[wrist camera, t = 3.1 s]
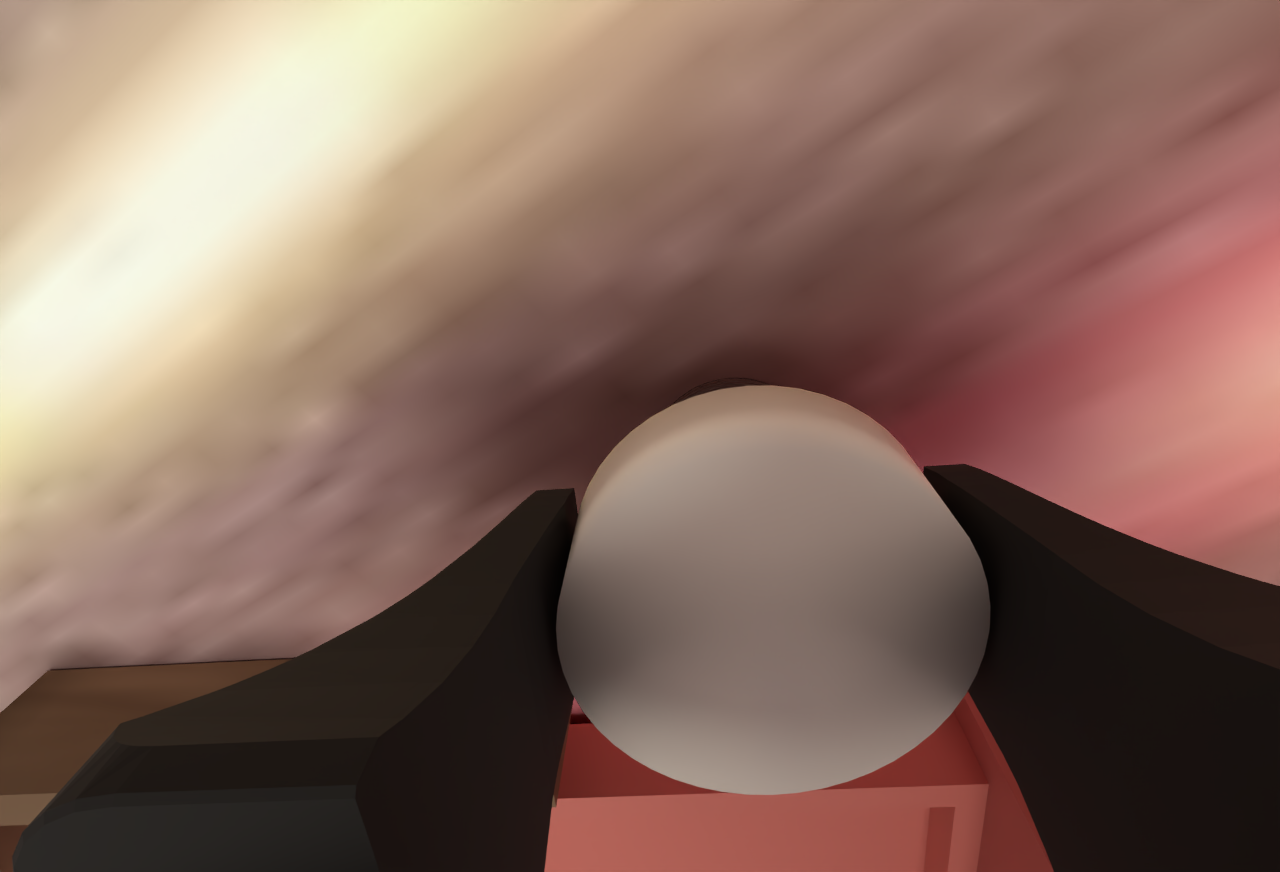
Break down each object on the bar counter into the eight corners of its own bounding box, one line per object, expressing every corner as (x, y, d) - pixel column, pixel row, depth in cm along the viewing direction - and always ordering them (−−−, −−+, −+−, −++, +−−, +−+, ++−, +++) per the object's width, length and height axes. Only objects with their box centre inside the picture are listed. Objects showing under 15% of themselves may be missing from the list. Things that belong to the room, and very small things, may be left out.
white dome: (922, 684, 12) (968, 788, 10) (595, 699, 12) (582, 801, 10) (949, 371, 10) (1015, 429, 8) (552, 399, 10) (525, 461, 8)
